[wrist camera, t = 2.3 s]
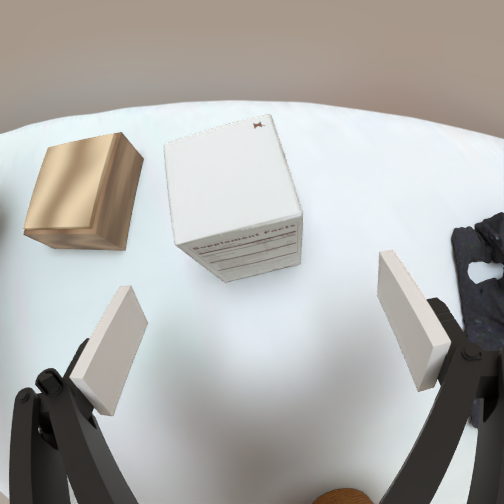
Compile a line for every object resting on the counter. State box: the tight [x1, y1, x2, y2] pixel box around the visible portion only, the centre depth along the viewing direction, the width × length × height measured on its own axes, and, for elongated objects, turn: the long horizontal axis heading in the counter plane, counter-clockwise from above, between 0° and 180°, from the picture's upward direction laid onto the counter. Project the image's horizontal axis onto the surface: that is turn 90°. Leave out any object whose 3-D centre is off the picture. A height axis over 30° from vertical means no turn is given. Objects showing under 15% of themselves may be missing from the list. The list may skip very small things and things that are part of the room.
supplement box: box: [164, 114, 303, 282], centre depth 23 cm, size 7×7×13 cm
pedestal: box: [23, 132, 143, 250], centre depth 30 cm, size 11×11×6 cm
